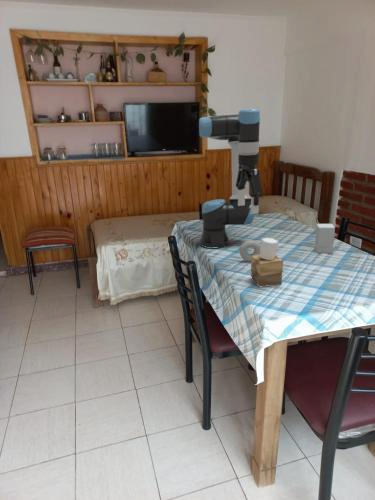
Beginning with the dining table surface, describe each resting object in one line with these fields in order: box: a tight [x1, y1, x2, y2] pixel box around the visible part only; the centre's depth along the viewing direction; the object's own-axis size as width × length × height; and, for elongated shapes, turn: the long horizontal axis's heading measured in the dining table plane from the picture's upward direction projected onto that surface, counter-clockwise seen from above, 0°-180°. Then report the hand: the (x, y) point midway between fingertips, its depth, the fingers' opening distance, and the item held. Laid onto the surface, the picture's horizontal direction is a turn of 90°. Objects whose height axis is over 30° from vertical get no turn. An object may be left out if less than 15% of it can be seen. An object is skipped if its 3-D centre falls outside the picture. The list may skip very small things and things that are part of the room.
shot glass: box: [260, 236, 280, 260], centre depth 135 cm, size 7×7×7 cm
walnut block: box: [250, 267, 283, 287], centre depth 138 cm, size 9×9×5 cm
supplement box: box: [314, 223, 336, 254], centre depth 167 cm, size 7×7×13 cm
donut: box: [239, 239, 261, 262], centre depth 159 cm, size 10×4×10 cm, turn 93°
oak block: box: [250, 254, 284, 276], centre depth 137 cm, size 9×9×5 cm
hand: (247, 209), depth 138 cm, fingers open, 13 cm apart
